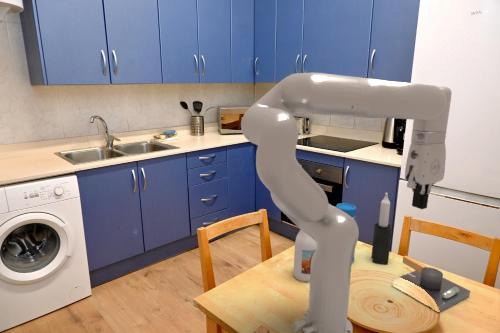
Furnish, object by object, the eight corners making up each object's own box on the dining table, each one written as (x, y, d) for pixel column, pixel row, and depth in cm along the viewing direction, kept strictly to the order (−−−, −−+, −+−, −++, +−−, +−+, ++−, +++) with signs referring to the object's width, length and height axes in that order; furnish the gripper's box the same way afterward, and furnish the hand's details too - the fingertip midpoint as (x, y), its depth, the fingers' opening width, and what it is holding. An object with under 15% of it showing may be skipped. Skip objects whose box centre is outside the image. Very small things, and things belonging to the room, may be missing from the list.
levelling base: (438, 313, 94) (440, 300, 93) (391, 285, 106) (392, 274, 105) (469, 296, 101) (471, 285, 100) (422, 273, 113) (423, 262, 113)
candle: (388, 265, 118) (396, 195, 113) (372, 263, 119) (379, 194, 114) (385, 258, 123) (393, 191, 117) (370, 256, 124) (377, 190, 118)
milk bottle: (291, 279, 109) (293, 220, 104) (295, 267, 116) (298, 211, 111) (316, 284, 107) (319, 223, 102) (318, 271, 114) (322, 214, 109)
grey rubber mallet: (445, 287, 102) (447, 273, 101) (432, 291, 99) (434, 277, 98) (409, 266, 113) (411, 254, 112) (397, 270, 111) (398, 257, 110)
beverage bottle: (354, 267, 117) (359, 211, 112) (328, 263, 119) (332, 208, 115) (354, 256, 124) (359, 203, 120) (330, 252, 127) (334, 200, 122)
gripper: (423, 141, 79) (413, 217, 83) (460, 137, 86) (450, 206, 91) (395, 137, 85) (387, 207, 90) (432, 133, 93) (423, 198, 97)
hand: (419, 207), depth 90 cm, fingers closed
